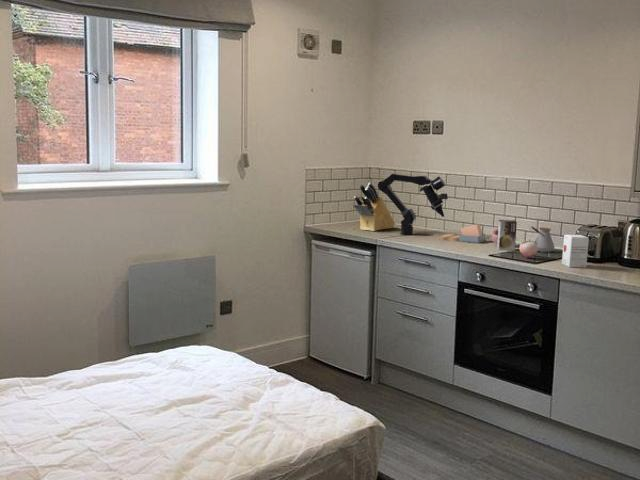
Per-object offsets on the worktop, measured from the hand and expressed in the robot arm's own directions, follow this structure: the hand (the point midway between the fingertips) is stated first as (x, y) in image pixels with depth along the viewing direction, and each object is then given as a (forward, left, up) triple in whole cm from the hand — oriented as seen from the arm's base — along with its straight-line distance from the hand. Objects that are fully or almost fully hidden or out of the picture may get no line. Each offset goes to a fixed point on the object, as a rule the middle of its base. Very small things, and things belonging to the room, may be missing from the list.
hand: (443, 216), depth 433 cm
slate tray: (+11, -16, -13) cm, 23 cm away
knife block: (-26, +40, -13) cm, 50 cm away
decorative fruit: (+5, -74, -13) cm, 75 cm away
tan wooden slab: (+3, -6, -13) cm, 15 cm away
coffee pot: (+24, -59, -13) cm, 65 cm away
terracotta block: (+7, -12, -9) cm, 16 cm away
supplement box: (+14, -97, -13) cm, 99 cm away
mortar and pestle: (+18, -34, -13) cm, 41 cm away
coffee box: (+12, -46, -13) cm, 49 cm away
